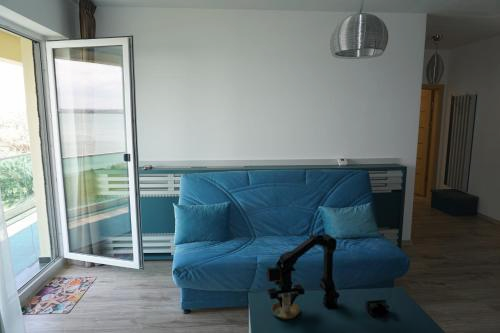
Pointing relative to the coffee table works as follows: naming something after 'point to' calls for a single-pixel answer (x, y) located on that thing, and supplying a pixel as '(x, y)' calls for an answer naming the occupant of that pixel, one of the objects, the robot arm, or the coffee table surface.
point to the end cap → (377, 308)
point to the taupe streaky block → (286, 302)
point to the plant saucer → (286, 315)
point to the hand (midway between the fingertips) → (285, 306)
